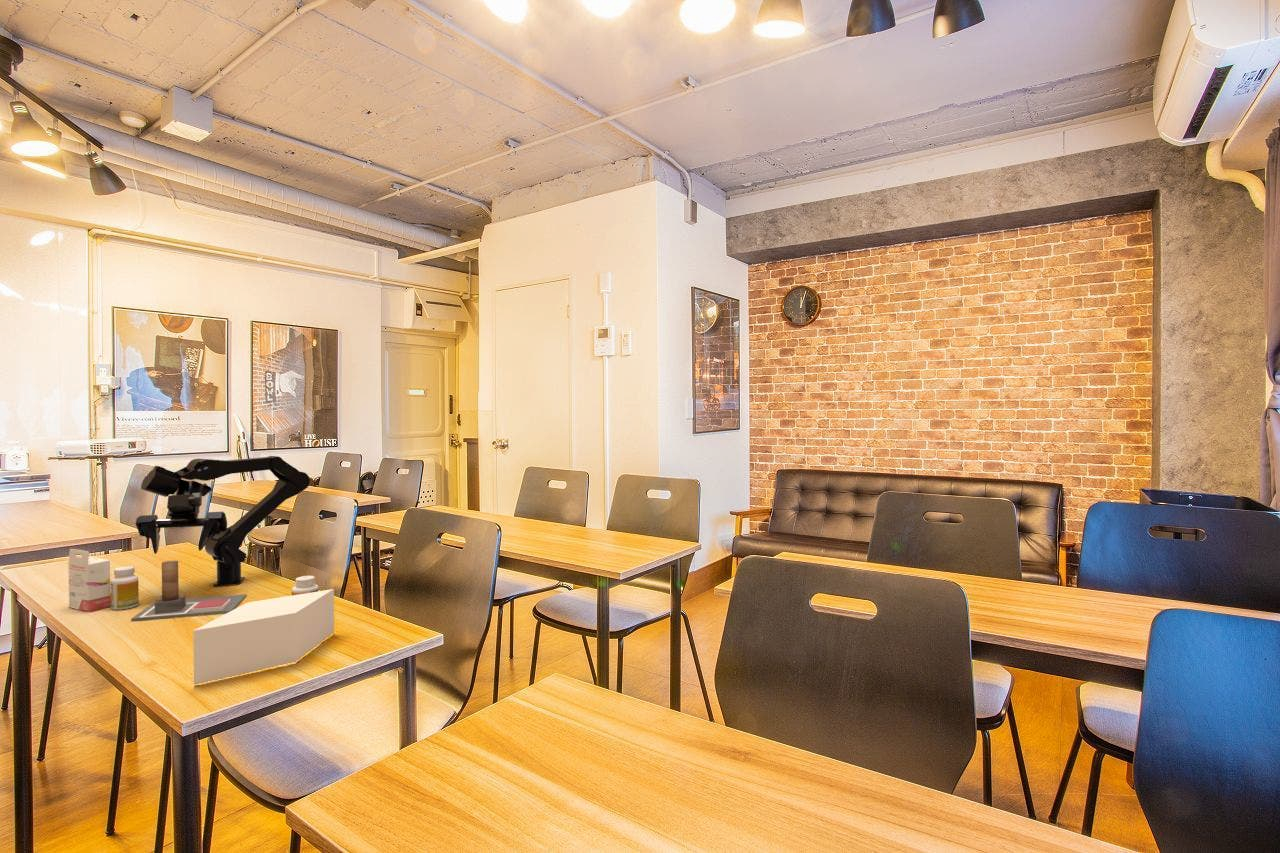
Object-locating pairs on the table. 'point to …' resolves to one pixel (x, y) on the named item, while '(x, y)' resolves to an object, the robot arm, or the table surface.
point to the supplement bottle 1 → (124, 588)
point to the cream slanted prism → (262, 635)
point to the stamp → (170, 590)
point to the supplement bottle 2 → (305, 585)
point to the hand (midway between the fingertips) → (177, 551)
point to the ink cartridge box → (88, 582)
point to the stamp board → (195, 607)
